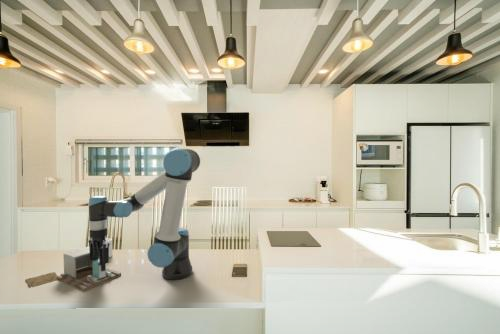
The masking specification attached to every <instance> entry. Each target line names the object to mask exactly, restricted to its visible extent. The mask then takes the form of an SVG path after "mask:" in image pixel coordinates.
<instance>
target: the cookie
mask: <svg viewBox="0 0 500 334" xmlns="http://www.w3.org/2000/svg"><path fill="white" fill-rule="evenodd" d="M57 276H58V275H57V273H56V272H49V273H46V274H41V275H38V276H35V277H29V278H26V279H25V282H26V284H27V287H28V288H29V289H32V288H35V287H39V286H41V285H45V284H49V283H52V282H56V281H60V280H59V279H58V278H57ZM31 287H32V288H31Z"/></svg>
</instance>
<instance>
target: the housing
mask: <svg viewBox="0 0 500 334" xmlns="http://www.w3.org/2000/svg"><path fill="white" fill-rule="evenodd" d="M86 266H91V267H93V262H92V260H90V251H89V245H87V246H85V247H82V248H81V247H80V248H78V249H74V250H71V251H68V252H67V251H66V252H64V253H63V274H66V275H68V276H71V277H73V278H76V270H77V269H80V268H83V267H86Z"/></svg>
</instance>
